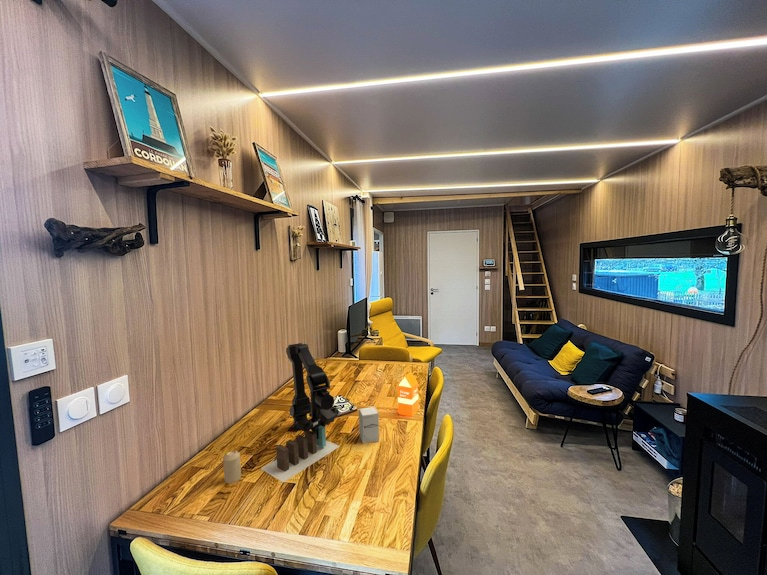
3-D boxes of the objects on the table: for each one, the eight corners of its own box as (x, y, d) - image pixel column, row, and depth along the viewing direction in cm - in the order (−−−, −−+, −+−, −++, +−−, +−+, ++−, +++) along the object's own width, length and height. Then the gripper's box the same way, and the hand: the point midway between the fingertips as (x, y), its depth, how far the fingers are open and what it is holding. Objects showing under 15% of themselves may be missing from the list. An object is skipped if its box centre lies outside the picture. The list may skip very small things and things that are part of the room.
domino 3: (304, 459, 126) (303, 440, 126) (296, 455, 129) (295, 436, 129) (308, 457, 128) (307, 438, 127) (300, 453, 131) (299, 434, 130)
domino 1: (285, 471, 119) (284, 450, 119) (277, 467, 122) (276, 446, 122) (289, 469, 121) (288, 448, 120) (281, 464, 123) (280, 444, 123)
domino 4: (313, 454, 130) (312, 435, 129) (305, 450, 133) (304, 431, 132) (316, 452, 131) (316, 433, 131) (309, 448, 134) (308, 429, 134)
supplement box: (362, 444, 137) (361, 415, 136) (359, 436, 144) (358, 408, 143) (379, 441, 139) (378, 412, 138) (375, 433, 146) (374, 405, 145)
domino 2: (295, 465, 123) (294, 445, 122) (287, 461, 126) (286, 441, 125) (298, 463, 124) (297, 443, 124) (291, 459, 127) (290, 439, 127)
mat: (260, 469, 122) (260, 468, 122) (317, 437, 144) (317, 436, 144) (283, 483, 113) (283, 482, 113) (339, 446, 135) (339, 446, 135)
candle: (236, 472, 120) (235, 446, 119) (244, 478, 117) (242, 451, 116) (221, 480, 116) (220, 453, 115) (228, 486, 112) (227, 458, 112)
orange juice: (398, 413, 165) (397, 375, 164) (405, 407, 173) (404, 370, 171) (412, 416, 161) (411, 377, 160) (418, 409, 169) (418, 372, 168)
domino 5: (322, 447, 133) (322, 428, 133) (314, 443, 136) (314, 425, 135) (325, 445, 135) (325, 426, 134) (318, 442, 137) (317, 423, 137)
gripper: (313, 414, 122) (314, 454, 123) (347, 398, 137) (348, 433, 138) (294, 407, 129) (296, 445, 130) (328, 392, 144) (330, 426, 145)
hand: (319, 437), depth 135 cm, fingers closed on domino 5, 2 cm apart
